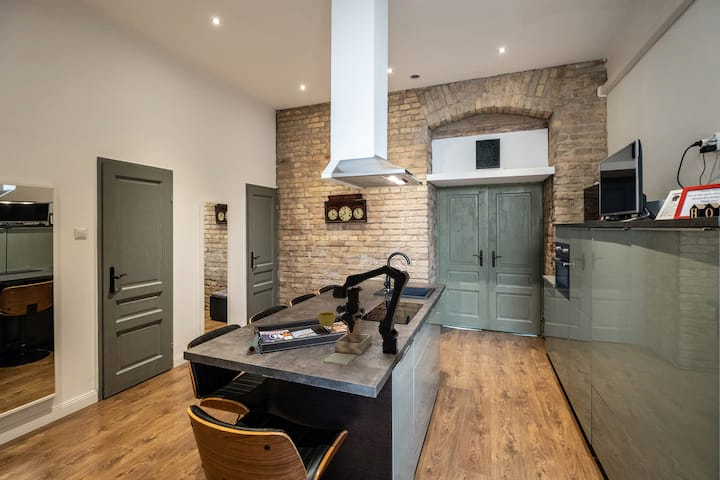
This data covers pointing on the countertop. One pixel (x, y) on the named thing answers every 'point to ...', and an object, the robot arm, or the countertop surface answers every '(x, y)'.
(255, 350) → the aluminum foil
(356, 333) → the terracotta pot
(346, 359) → the sage tile
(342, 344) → the cold frame
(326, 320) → the plant pot
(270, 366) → the countertop surface
